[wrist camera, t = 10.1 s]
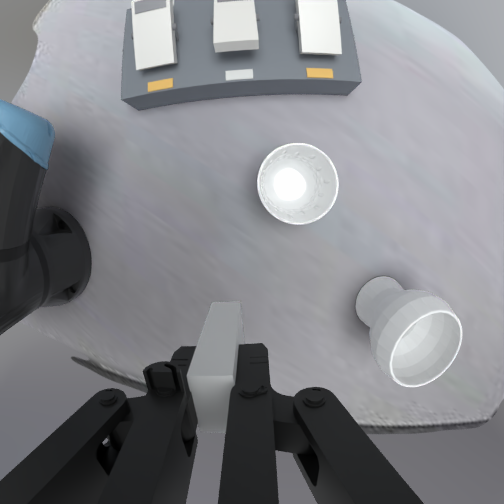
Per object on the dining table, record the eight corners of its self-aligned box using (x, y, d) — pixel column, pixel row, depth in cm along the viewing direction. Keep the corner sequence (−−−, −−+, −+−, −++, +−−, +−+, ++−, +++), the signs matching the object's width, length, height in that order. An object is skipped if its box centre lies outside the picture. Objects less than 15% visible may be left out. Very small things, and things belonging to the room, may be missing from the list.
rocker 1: (137, 71, 28) (132, 70, 27) (132, 5, 24) (127, 2, 22) (180, 62, 28) (177, 61, 27) (176, -5, 24) (172, -9, 22)
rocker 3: (296, 53, 28) (298, 52, 26) (290, -14, 23) (292, -19, 22) (341, 55, 28) (345, 54, 26) (335, -11, 23) (339, -15, 22)
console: (137, 110, 36) (113, 96, 28) (139, 28, 33) (120, 3, 25) (347, 95, 35) (366, 77, 27) (333, 13, 32) (346, -15, 24)
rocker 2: (211, 53, 26) (209, 42, 24) (212, 3, 26) (210, -7, 24) (262, 49, 26) (262, 38, 24) (256, 0, 26) (256, -10, 24)
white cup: (252, 210, 39) (252, 219, 29) (260, 149, 37) (262, 137, 27) (313, 218, 39) (332, 229, 29) (321, 158, 37) (343, 150, 27)
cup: (358, 345, 43) (394, 406, 28) (335, 287, 41) (373, 337, 26) (416, 313, 42) (469, 360, 27) (399, 253, 40) (460, 286, 25)
